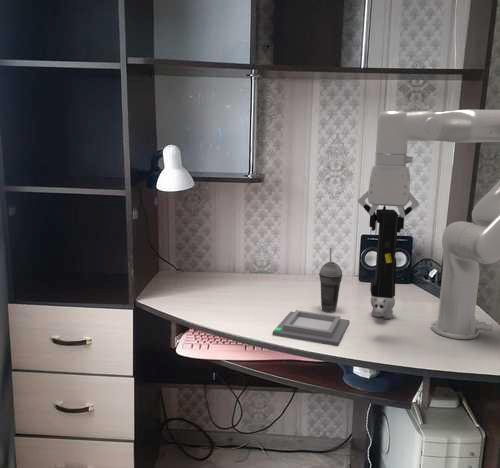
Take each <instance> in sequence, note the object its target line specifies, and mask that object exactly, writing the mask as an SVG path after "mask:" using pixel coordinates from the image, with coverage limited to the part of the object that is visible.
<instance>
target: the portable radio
mask: <svg viewBox="0 0 500 468" xmlns="http://www.w3.org/2000/svg"><path fill="white" fill-rule="evenodd" d="M375 212H376V224H378V234H377V245H376V260H375V270H374V271H375V272H374V277H373V278H370V289H369V290H370V297H371V296H374V297H381V298H393V297H394V298H395V297H396V274H397V273H396V270H397V269H396V268H397V257H396V252H397V249H396V246H397V241H398V232H397V231H398V218H399V215H400V214H398V212H397V211H396V210H395V209H389V208H387V206H384V205H383V206H382V208H381V209H380V208H379V209H376V211H375Z"/></svg>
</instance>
